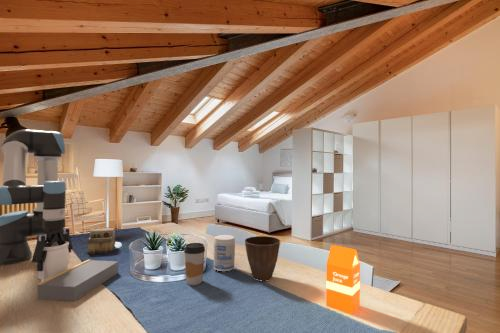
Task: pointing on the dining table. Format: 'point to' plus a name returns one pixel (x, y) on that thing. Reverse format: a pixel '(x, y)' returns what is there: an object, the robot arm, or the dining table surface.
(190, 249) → the coffee cup
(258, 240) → the plant pot
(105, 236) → the wicker basket
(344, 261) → the orange juice
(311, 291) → the dining table surface
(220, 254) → the supplement tub
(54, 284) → the dock
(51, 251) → the jar
